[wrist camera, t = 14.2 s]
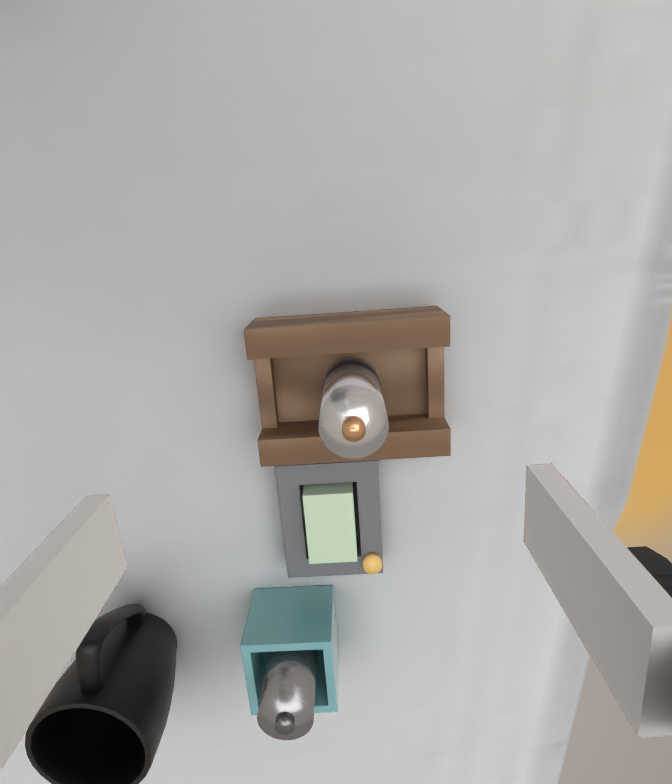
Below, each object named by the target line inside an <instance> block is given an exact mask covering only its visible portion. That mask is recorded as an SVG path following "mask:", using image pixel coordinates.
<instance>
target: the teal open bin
mask: <svg viewBox="0 0 672 784" xmlns="http://www.w3.org/2000/svg"><path fill="white" fill-rule="evenodd" d="M240 647H241V653H242V659H243V666H244V672H245V678H246V685H247V691H248V697H249V704H250V710H251V715H258V709H259V704H260V698H261V693H262V687H263V681H264V676H265V670H266V665H267V659H268V654H269V652H273V651H295V650H317V649H318V655H317V671H316V687H315V703H314V713H320V712H338V638H337V627H336V615H335V604H334V592H333V585H321V586H301V587H281V588H261V589H255V590H254V594H253V598H252V602H251V606H250V610H249V614H248V618H247V622H246V626H245V629H244V633H243V637H242V641H241V645H240Z"/></svg>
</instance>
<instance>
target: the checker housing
mask: <svg viewBox="0 0 672 784" xmlns="http://www.w3.org/2000/svg"><path fill="white" fill-rule="evenodd" d="M275 471H276V479H277V488H278V496H279V505H280V513H281V522H282V531H283V539H284V548H285V556H286V565H287V573H288V578H292V577H311V576H331V575H351V574H376V573H383V561H382V542H381V522H380V502H379V483H378V463H377V460H366V461H348V462H331V463H314V464H297V465H280V466H275ZM345 482H357V495H358V511H359V526H360V540H359V541H356V542H357V562H338V563H319V564H309V556H308V546H307V536H306V526H305V516H304V506H303V485H310V484H328V483H345Z"/></svg>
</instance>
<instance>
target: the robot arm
mask: <svg viewBox="0 0 672 784" xmlns="http://www.w3.org/2000/svg"><path fill="white" fill-rule="evenodd" d="M524 543H525V545H526V546H527V548H528V550H529V551H530V553H531V555H532V557H533V558H534V560H535V562H536V563H537V565H538V567H539V569H540V570H541V572H542V574H543V575H544V577H545V579H546V581H547V582H548V584H549V586H550V588H551V589H552V591H553V593H554V594H555V596H556V598H557V600H558V601H559V603H560V605H561V606H562V608H563V610H564V612H565V613H566V615H567V617H568V618H569V620H570V622H571V624H572V625H573V627H574V629H575V630H576V632H577V634H578V636H579V637H580V639H581V641H582V643H583V644H584V646H585V648H586V649H587V651H588V653H589V655H590V656H591V658H592V660H593V661H594V663H595V665H596V667H597V668H598V670H599V672H600V673H601V675H602V677H603V678H604V680H605V682H606V684H607V685H608V687H609V689H610V690H611V692H612V694H613V696H614V697H615V699H616V701H617V703H618V704H619V706H620V708H621V709H622V711H623V713H624V714H625V716H626V718H627V720H628V721H629V723H630V725H631V727H632V728H633V730H634V732H635V734H636V735H637V737H656V736H672V563H671V562H670V561H669V560H668V559H667V558H665V557H663V556H662V555H660V554H658V553H656V552H655V551H653V550H651V549H650V548H648V547H646V546H644V547H630V548H629V547H628V548H627V547H626V546H625V545H624V544H623V543H622V542H621V541H620V539H619V538H618V537H617V536H616V535H615V534H614V533H613V532H612V530H611V529H610V528H609V527H608V526H607V525H606V524H605V523H604V521H603V520H602V519H601V518H600V517H599V516H598V515H597V514H596V512H595V511H594V510H593V509H592V508H591V507H590V506H589V505H588V503H587V502H586V501H585V500H584V499H583V498H582V497H581V496H580V495H579V493H578V492H577V491H576V490H575V489H574V488H573V487H572V486H571V484H570V483H569V482H568V481H567V480H566V479H565V478H564V477H563V475H562V474H561V473H560V472H559V471H558V470H557V469H556V468H555V466H554V465H553V464H552V463H550V464H535V465H527V469H526V495H525V521H524ZM127 568H128V566H127V562H126V558H125V554H124V550H123V546H122V542H121V538H120V534H119V530H118V526H117V522H116V518H115V514H114V510H113V506H112V502H111V498H110V494H107V495H93V496H86V497H85V498H84V499H83V500H82V501H81V502H80V503H79V504H78V505H77V506H76V507H75V508H74V509H73V510H72V511H71V512H70V514H69V515H68V516H67V517H66V518H65V519H64V520H63V521H62V522H61V523H60V524H59V525H58V526H57V527H56V528H55V529H54V530H53V532H52V533H51V534H50V535H49V536H48V537H47V538H46V539H45V540H44V541H43V542H42V543H41V544H40V545H39V546H38V547H37V548H36V550H35V551H34V552H33V553H32V554H31V555H30V556H29V557H28V558H27V559H26V560H25V561H24V562H23V563H22V564H21V565H20V566H19V568H18V569H17V570H16V571H15V572H14V573H13V574H12V575H11V576H10V577H9V578H8V579H7V580H6V581H5V582H4V583H3V584H2V586H1V587H0V770H2V768H3V767H4V765H5V763H6V762H7V760H8V759H9V757H10V755H11V754H12V752H13V751H14V749H15V747H16V746H17V744H18V743H19V741H20V739H21V738H22V736H23V735H24V733H25V731H26V730H27V728H28V727H29V725H30V723H31V722H32V720H33V719H34V717H35V715H36V714H37V712H38V711H39V709H40V707H41V706H42V704H43V702H44V701H45V699H46V698H47V696H48V694H49V693H50V691H51V690H52V688H53V686H54V685H55V683H56V682H57V680H58V678H59V677H60V675H61V674H62V672H63V670H64V669H65V667H66V666H67V664H68V662H69V661H70V659H71V658H72V656H73V654H74V653H75V651H76V650H77V648H78V646H79V645H80V643H81V642H82V640H83V638H84V637H85V635H86V634H87V632H88V630H89V629H90V627H91V626H92V624H93V622H94V621H95V619H96V618H97V616H98V614H99V613H100V611H101V610H102V608H103V606H104V605H105V603H106V602H107V600H108V598H109V597H110V595H111V594H112V592H113V590H114V589H115V587H116V585H117V584H118V582H119V581H120V579H121V577H122V576H123V574H124V573H125V571H126V569H127Z"/></svg>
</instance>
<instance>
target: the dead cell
mask: <svg viewBox="0 0 672 784" xmlns="http://www.w3.org/2000/svg"><path fill="white" fill-rule="evenodd" d="M317 655H318V649H317V650H295V651H273V652H269V654H268V659H267V665H266V670H265V676H264V681H263V687H262V693H261V698H260V704H259V709H258V715H257V720H258V724H259V726H260V728H261V729H262V730H263V731H264V732H265V733H266V734H267V735H269V736H271V737H273V738H276V739H280V740H293V739H297V738H300V737H302V736H304V735H305V734H306V733H308V732H309V730H310V729H311V727H312V725H313V719H314V703H315V687H316V671H317Z"/></svg>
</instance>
